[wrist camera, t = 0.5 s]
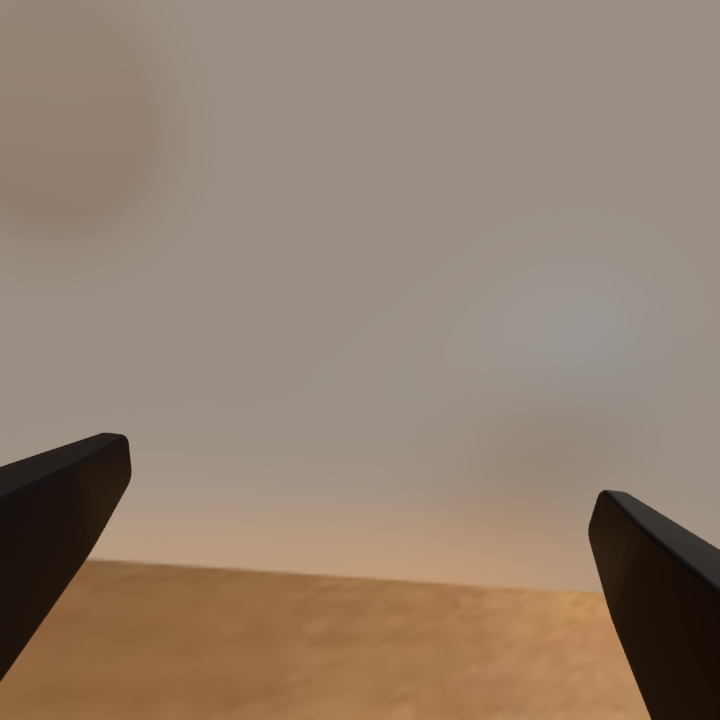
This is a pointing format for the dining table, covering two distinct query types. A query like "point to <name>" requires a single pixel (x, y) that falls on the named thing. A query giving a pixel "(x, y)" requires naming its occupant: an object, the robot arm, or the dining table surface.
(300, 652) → the dining table surface
